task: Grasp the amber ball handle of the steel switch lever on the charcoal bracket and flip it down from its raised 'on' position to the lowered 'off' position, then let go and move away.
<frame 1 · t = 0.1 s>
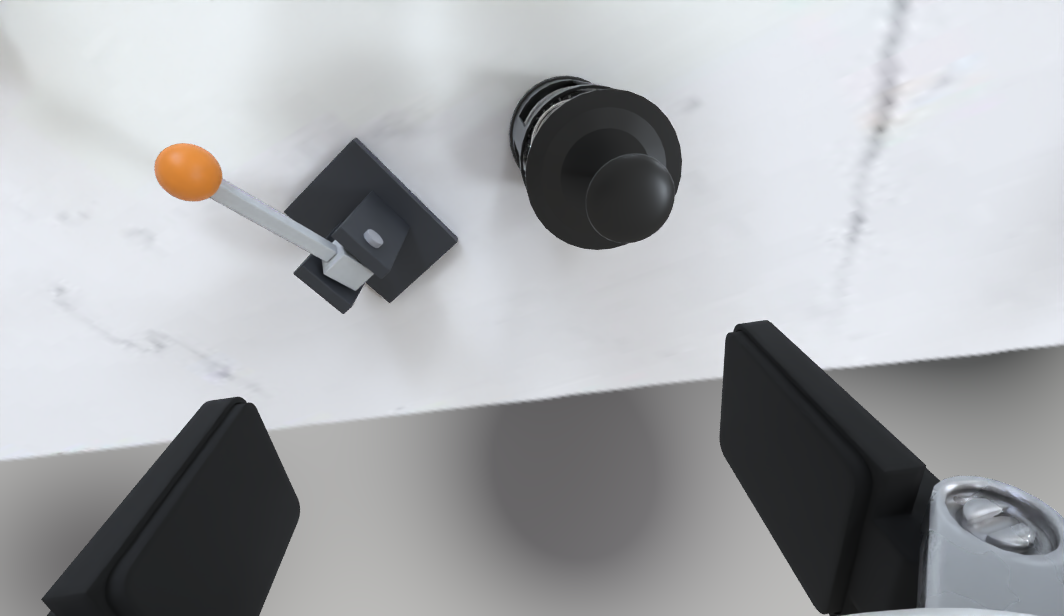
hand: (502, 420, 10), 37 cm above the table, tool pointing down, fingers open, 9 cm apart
french press: (568, 136, 44), on the table
switch bracket: (375, 223, 46), on the table
switch lever: (276, 222, 33), point 12 cm above the table, hinge at 25.0°
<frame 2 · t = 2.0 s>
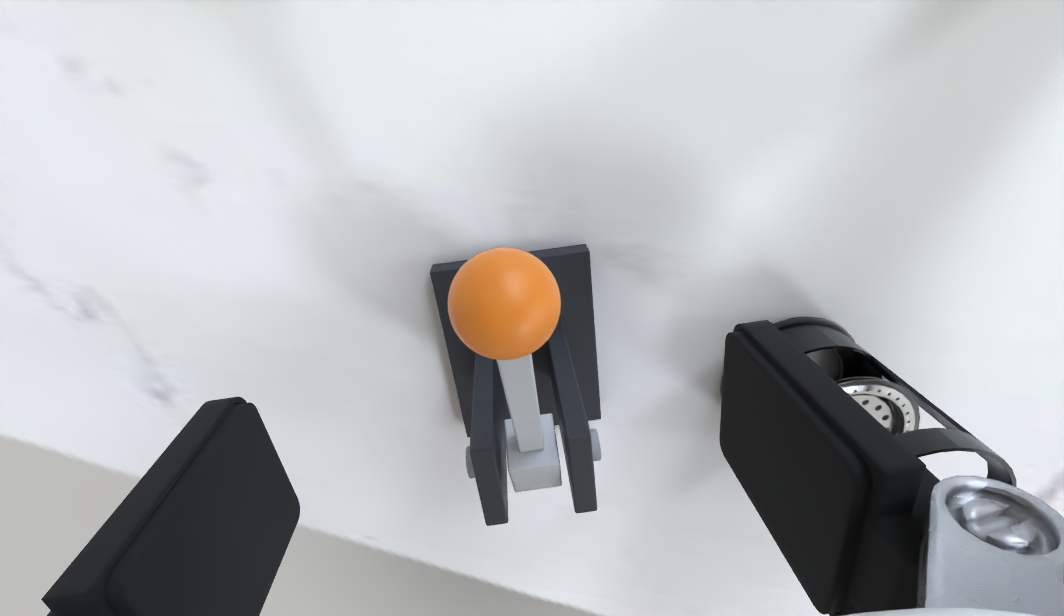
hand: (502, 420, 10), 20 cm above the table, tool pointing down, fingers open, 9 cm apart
french press: (789, 379, 35), on the table
switch bracket: (522, 342, 32), on the table
switch lever: (522, 394, 19), point 12 cm above the table, hinge at 25.0°
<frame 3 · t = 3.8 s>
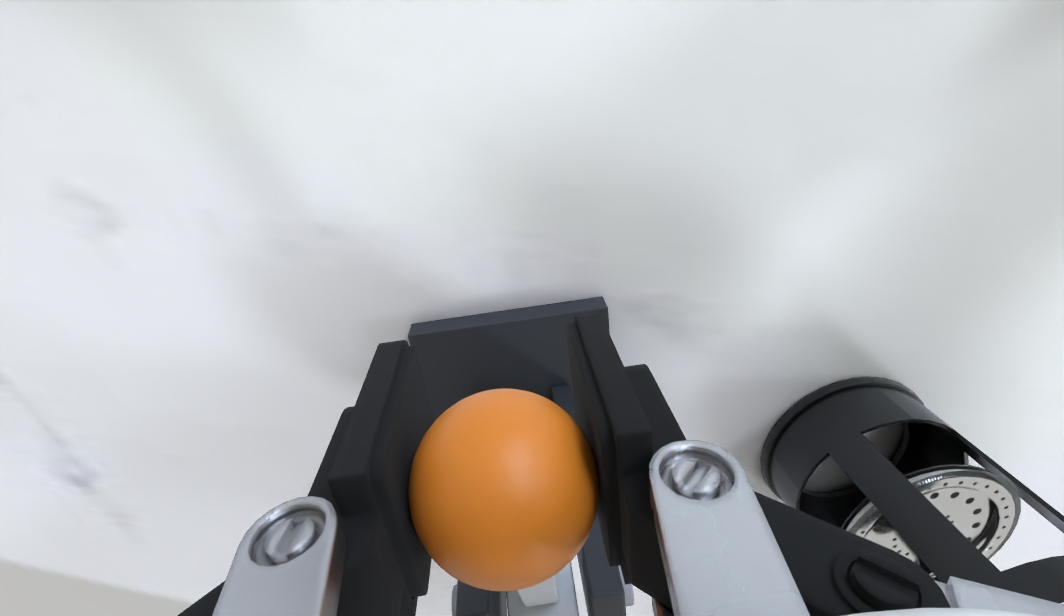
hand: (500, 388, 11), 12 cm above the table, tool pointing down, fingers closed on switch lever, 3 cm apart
french press: (842, 446, 29), on the table
switch bracket: (523, 412, 26), on the table
switch lever: (529, 556, 13), point 12 cm above the table, hinge at 25.0°, touching gripper
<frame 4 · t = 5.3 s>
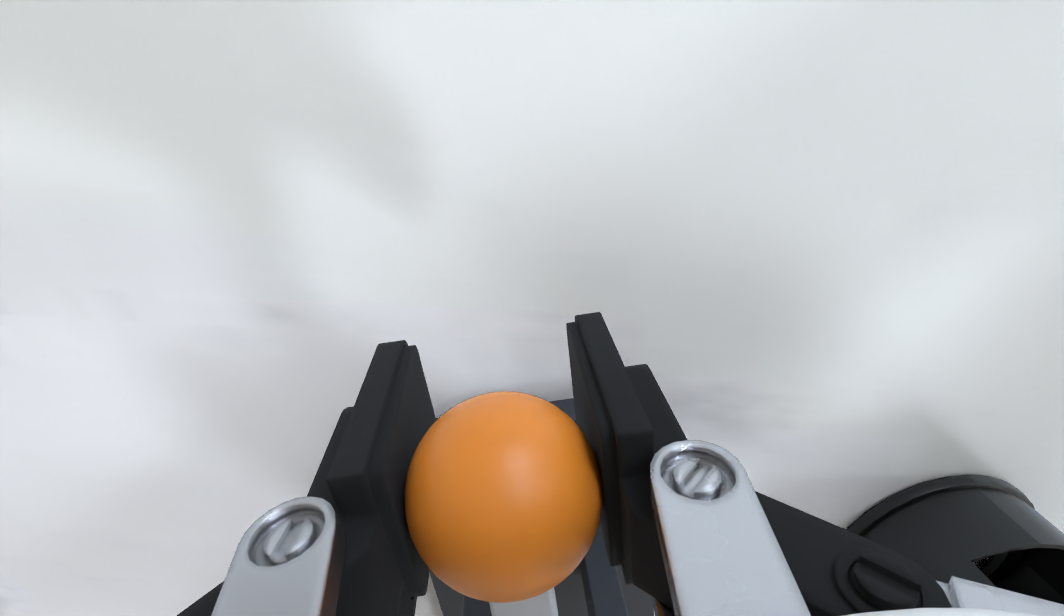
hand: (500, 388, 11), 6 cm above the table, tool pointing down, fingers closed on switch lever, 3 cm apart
french press: (925, 550, 24), on the table
switch bracket: (537, 521, 21), on the table
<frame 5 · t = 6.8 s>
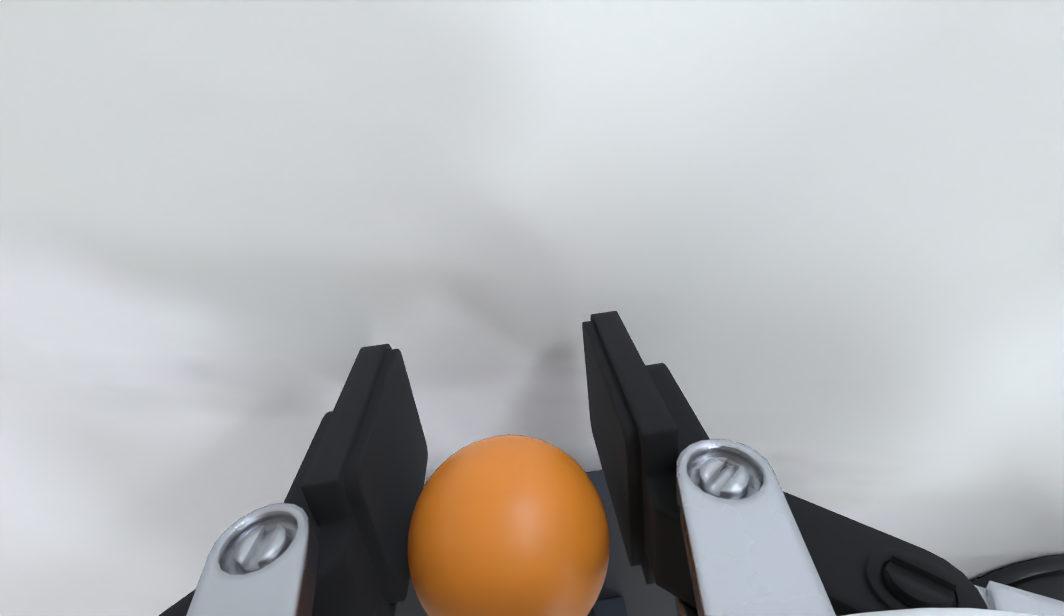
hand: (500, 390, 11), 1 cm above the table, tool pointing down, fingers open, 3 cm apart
switch bracket: (543, 613, 17), on the table
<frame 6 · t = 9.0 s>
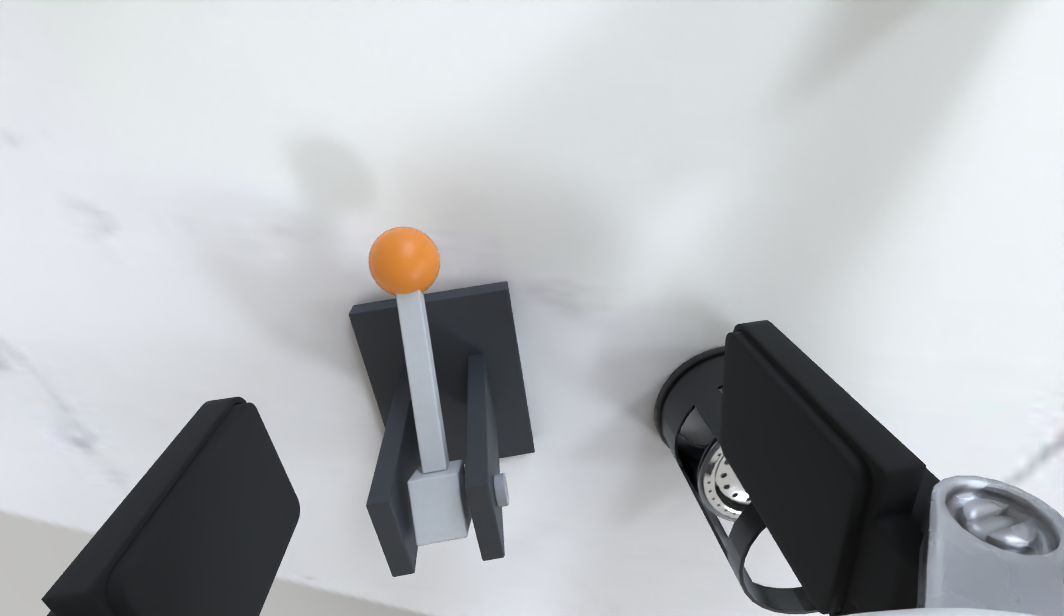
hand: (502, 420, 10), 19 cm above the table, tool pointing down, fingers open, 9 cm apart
french press: (722, 406, 35), on the table
switch bracket: (450, 378, 32), on the table
switch lever: (422, 377, 23), point 7 cm above the table, hinge at -28.0°
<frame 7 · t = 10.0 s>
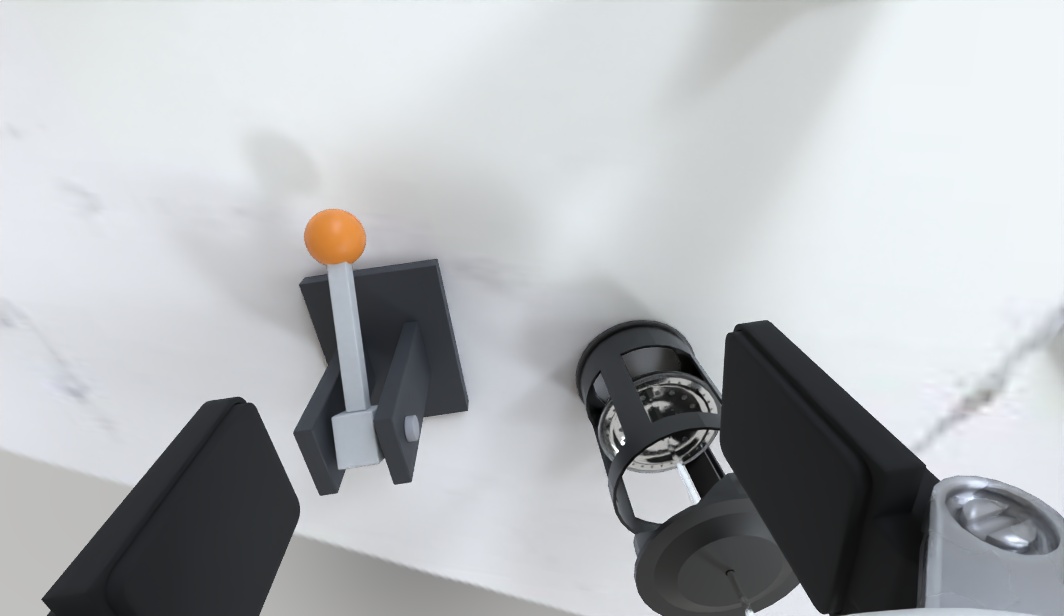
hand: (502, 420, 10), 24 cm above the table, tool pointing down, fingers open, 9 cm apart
french press: (638, 375, 40), on the table
switch bracket: (392, 344, 37), on the table
switch lever: (348, 334, 28), point 7 cm above the table, hinge at -28.0°
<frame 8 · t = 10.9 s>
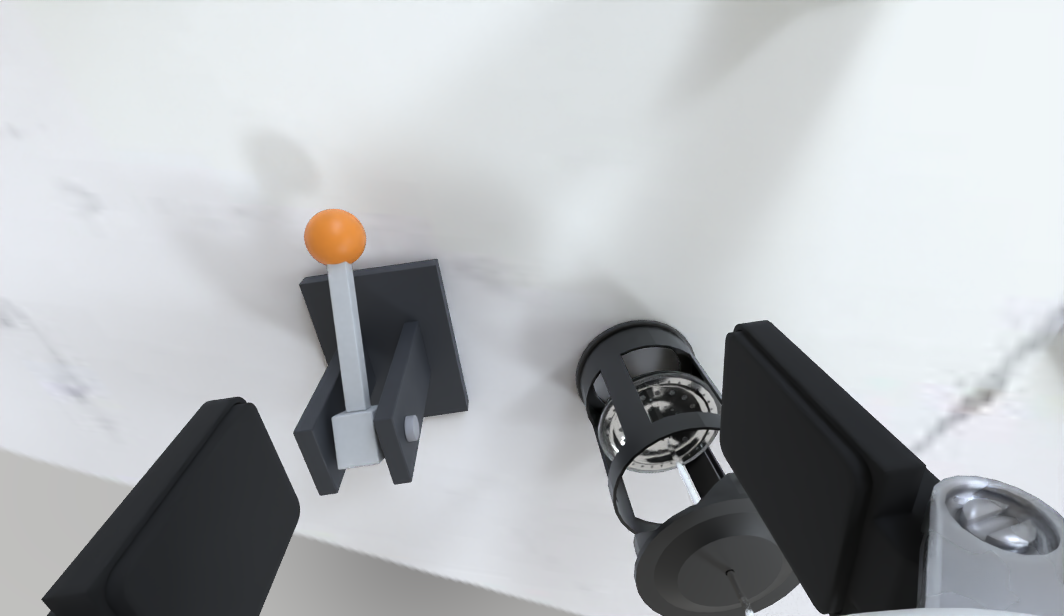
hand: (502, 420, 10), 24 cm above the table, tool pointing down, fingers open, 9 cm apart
french press: (638, 375, 40), on the table
switch bracket: (392, 344, 37), on the table
switch lever: (348, 334, 28), point 7 cm above the table, hinge at -28.0°
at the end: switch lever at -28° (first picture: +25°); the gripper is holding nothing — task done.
